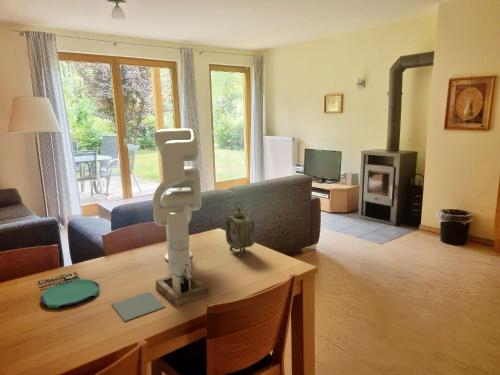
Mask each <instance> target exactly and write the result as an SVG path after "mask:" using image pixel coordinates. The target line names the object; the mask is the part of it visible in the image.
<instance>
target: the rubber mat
mask: <svg viewBox="0 0 500 375" xmlns="http://www.w3.org/2000/svg"><path fill="white" fill-rule="evenodd" d="M111 306H112V307H113V308H114V310H115V311H116V312H117V313H118V315H119V316H120V318H121V319H122V320H123V321H124V323H126V322H129V321H131V320H134V319H137V318H140V317H143V316H145V315H148V314H151V313H153V312H156V311H159V310H162V309H164V308H166V306H165V304H163V303H162V302H161V301H160V300H159V299H158V298H157V297H156V296H155V295H154V294H153V293H152V292H151V291H146V292H142V293H140V294H136V295H134V296H131V297H130V296H129V297H127V298H125V299H122V300H118V301H115V302H112V303H111Z"/></svg>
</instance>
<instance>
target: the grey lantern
mask: <svg viewBox="0 0 500 375" xmlns="http://www.w3.org/2000/svg"><path fill="white" fill-rule="evenodd" d="M238 204H239V206H240V207H241V208H240V207H237V205H238ZM235 209H236V210H237V211H235V212H234V214H233V215H229V216H225V222H224V223H225V228H224V229H225V238H226V239H225V240H226V242H227V244H228V245H229V250H233V249H234V250H239V254H238V257H239V258H241V257H242V256H243V254H242V252H246V251H247V250H246V248H251V247H252V246H253V245H254V244H255V241H256V240H255V234H256V233H255V232H256V230H255V222H254V220H253V219H252V218H250V217H249V216H246V215H245V213H244V212H243V205H242V203H241V202H240V201H236V202H235Z"/></svg>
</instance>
